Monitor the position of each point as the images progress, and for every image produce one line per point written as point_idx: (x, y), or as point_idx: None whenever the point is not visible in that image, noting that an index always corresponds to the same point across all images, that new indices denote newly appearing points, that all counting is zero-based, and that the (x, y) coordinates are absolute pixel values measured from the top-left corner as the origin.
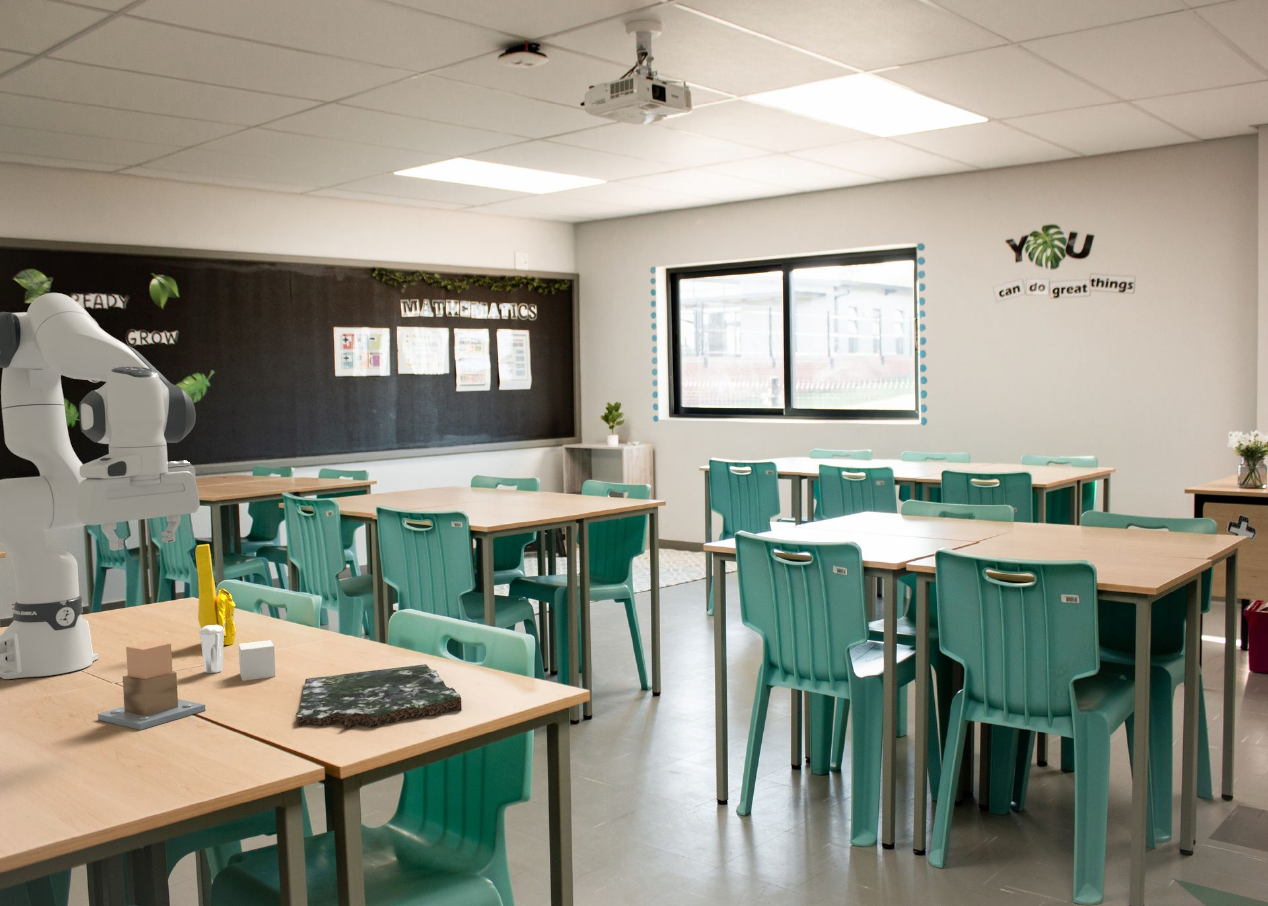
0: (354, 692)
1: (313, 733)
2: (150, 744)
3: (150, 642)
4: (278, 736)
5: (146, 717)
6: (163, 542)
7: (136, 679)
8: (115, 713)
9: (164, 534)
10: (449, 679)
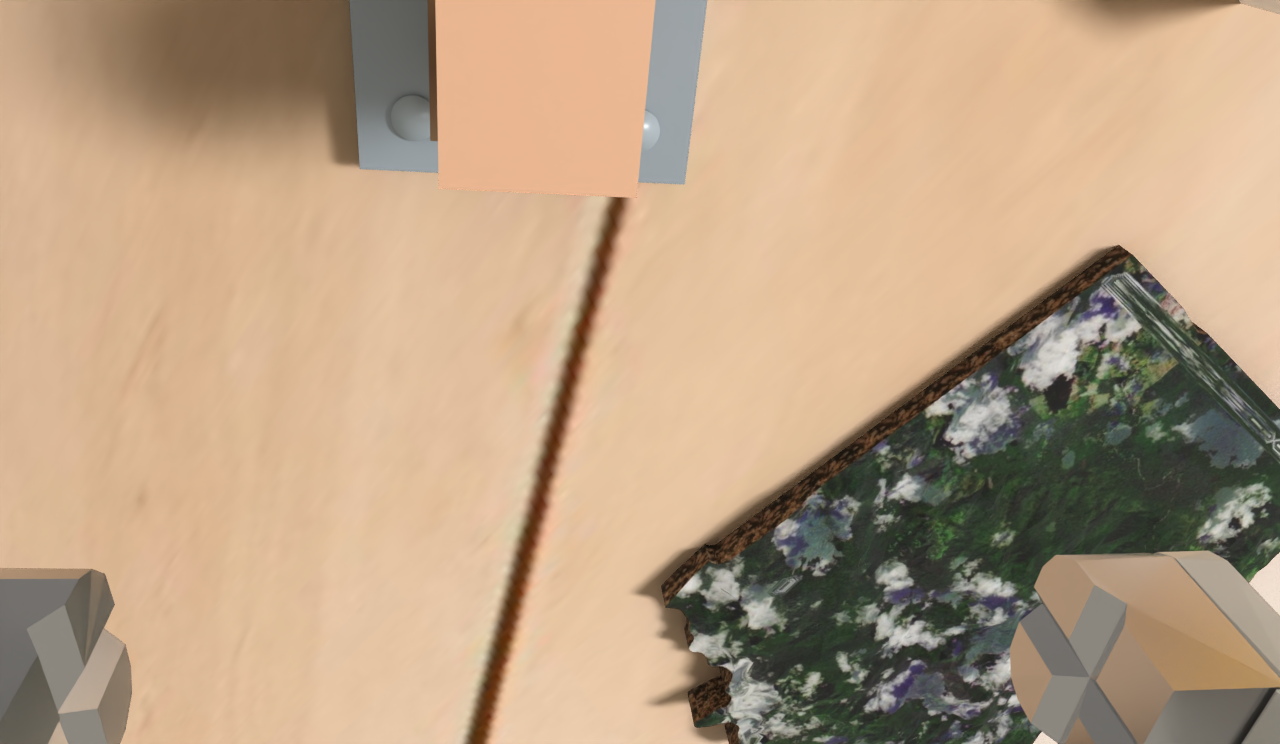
0: (954, 560)
1: (625, 657)
2: (283, 350)
3: (601, 34)
4: (561, 607)
5: (421, 126)
6: (1044, 568)
7: (429, 68)
8: None
9: (1121, 716)
10: None
